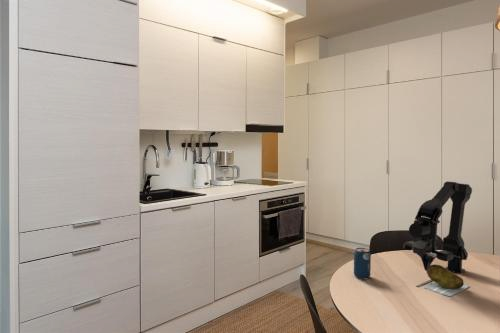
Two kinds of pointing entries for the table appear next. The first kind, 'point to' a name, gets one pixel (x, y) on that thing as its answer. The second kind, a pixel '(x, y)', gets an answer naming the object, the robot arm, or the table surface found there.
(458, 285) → the potato
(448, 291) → the mat
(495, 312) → the table surface
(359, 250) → the soda can
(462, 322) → the table surface
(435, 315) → the table surface
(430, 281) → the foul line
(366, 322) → the table surface
